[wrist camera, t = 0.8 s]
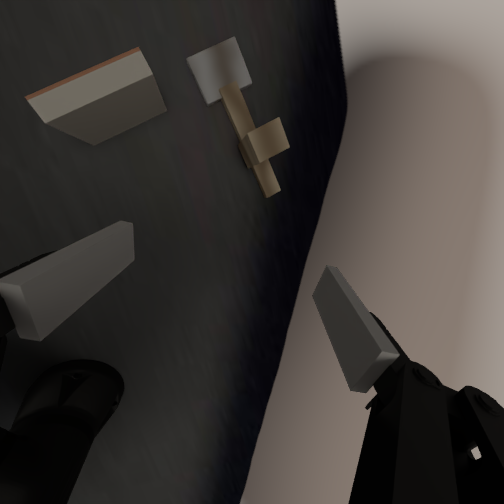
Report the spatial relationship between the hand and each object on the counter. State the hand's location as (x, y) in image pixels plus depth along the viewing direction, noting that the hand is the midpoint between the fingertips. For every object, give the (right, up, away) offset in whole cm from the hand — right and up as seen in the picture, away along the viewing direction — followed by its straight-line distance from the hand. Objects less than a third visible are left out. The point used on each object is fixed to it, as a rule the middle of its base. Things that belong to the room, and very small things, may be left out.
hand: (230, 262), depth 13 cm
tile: (-17, +20, +16) cm, 31 cm away
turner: (0, +21, +20) cm, 29 cm away
